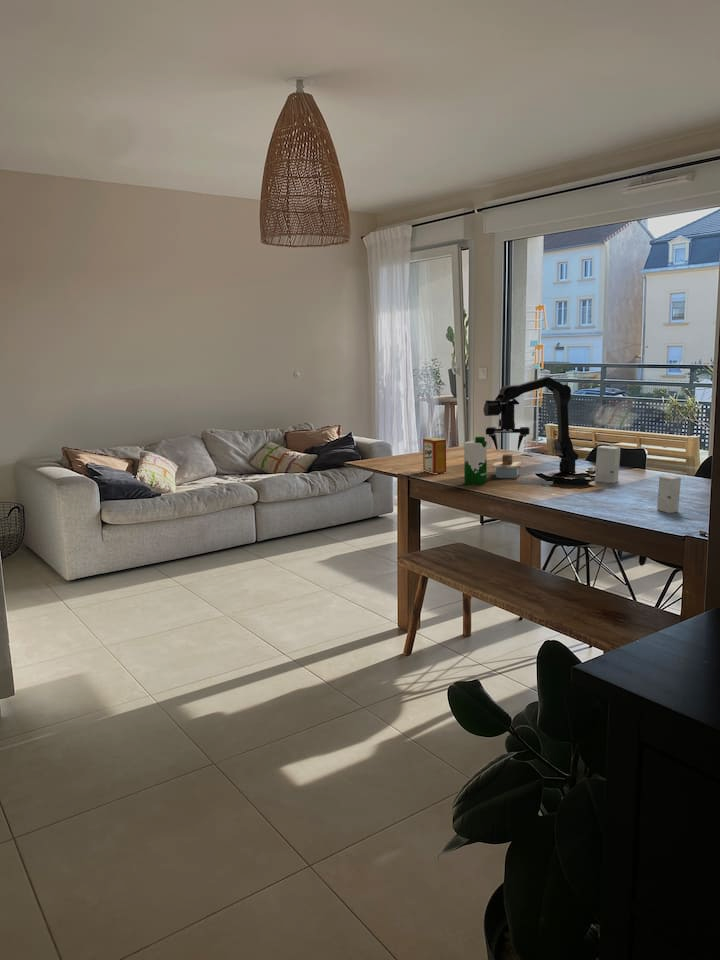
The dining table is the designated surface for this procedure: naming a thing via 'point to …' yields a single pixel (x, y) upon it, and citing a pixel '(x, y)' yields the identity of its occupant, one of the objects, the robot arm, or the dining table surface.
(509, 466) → the lid
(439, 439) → the baking soda box
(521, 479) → the mat
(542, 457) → the dining table surface
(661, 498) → the skincare box
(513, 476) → the light blue storage bin
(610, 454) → the skincare box
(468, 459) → the milk carton
